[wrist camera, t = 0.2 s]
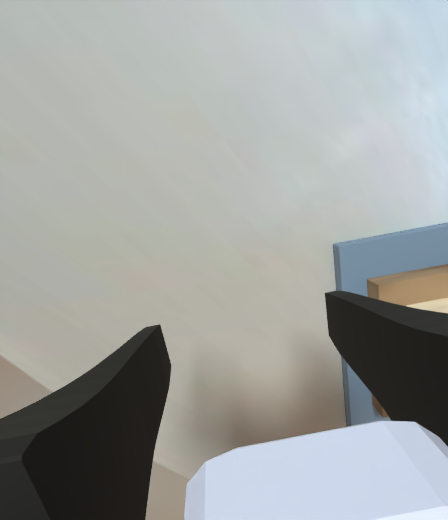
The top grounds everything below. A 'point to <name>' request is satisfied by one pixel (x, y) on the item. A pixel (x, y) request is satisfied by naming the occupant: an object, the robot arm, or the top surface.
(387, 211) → the top surface
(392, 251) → the plinth board
